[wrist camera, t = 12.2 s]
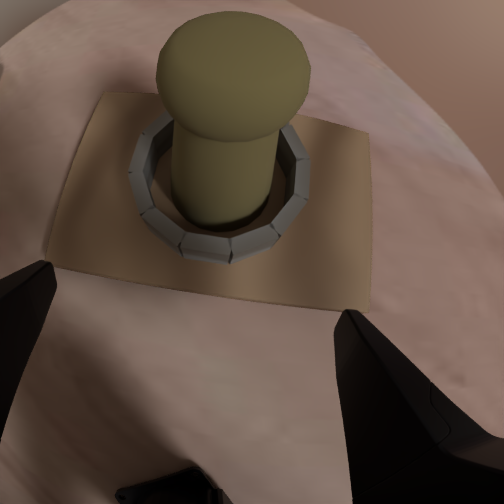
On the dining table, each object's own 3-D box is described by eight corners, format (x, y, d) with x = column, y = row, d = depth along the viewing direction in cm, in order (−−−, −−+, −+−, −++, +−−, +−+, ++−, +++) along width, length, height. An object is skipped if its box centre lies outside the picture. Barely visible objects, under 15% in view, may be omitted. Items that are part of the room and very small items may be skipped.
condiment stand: (361, 141, 22) (383, 114, 18) (360, 313, 19) (390, 310, 15) (107, 101, 20) (95, 69, 16) (52, 266, 17) (23, 253, 13)
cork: (290, 181, 19) (366, 48, 8) (226, 254, 17) (254, 146, 7) (216, 126, 19) (230, -21, 8) (149, 189, 17) (98, 47, 7)
